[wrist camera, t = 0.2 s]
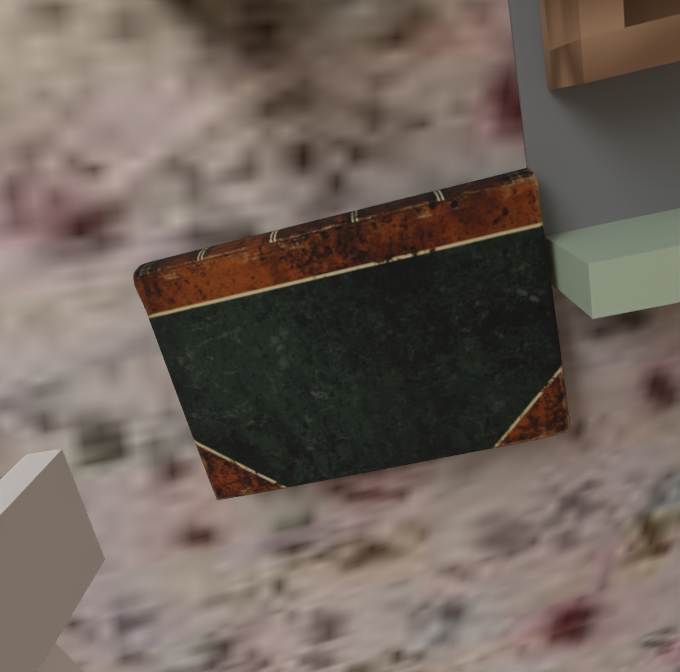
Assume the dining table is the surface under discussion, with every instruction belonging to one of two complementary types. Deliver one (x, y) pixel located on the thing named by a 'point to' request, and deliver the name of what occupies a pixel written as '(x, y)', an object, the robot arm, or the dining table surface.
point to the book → (365, 338)
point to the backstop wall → (618, 264)
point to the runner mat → (596, 136)
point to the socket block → (607, 38)
